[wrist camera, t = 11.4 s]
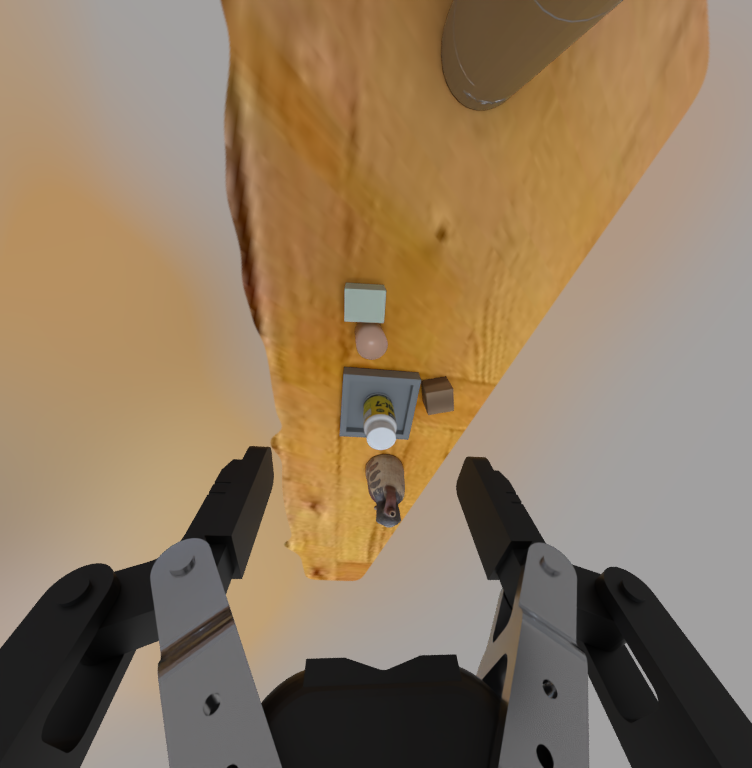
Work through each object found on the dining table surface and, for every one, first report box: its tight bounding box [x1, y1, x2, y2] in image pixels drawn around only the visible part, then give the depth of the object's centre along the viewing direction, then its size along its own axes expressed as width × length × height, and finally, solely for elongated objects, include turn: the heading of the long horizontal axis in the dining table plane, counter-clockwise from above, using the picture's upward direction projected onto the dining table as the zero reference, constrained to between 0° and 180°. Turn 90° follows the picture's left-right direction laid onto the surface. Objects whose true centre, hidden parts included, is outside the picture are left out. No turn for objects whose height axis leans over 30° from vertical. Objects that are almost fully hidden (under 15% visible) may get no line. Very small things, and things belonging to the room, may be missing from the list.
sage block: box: [344, 283, 386, 323], centre depth 36 cm, size 4×5×4 cm
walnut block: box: [421, 376, 454, 415], centre depth 43 cm, size 4×4×4 cm
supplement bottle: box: [363, 393, 397, 450], centre depth 41 cm, size 5×5×8 cm
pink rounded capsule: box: [355, 322, 388, 360], centre depth 37 cm, size 4×4×5 cm
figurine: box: [366, 454, 405, 527], centre depth 48 cm, size 7×7×12 cm
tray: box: [340, 367, 421, 440], centre depth 45 cm, size 12×12×2 cm
